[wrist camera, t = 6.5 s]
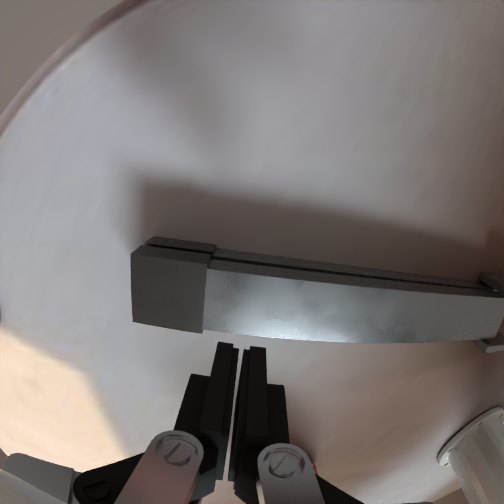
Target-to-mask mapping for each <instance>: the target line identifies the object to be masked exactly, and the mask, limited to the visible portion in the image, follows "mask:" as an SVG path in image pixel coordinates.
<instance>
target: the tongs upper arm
mask: <svg viewBox="0 0 504 504" xmlns="http://www.w3.org/2000/svg"><path fill="white" fill-rule="evenodd" d="M131 296H132V315H133V322H137V323H142V324H147V325H152V326H158V327H164V328H169V329H175V330H181V331H188V332H194V333H201V334H202V332H203V329H204V330H211V331H218V332H226V333H234V334H243V335H252V336H261V337H272V338H283V339H296V340H311V341H329V342H355V343H424V342H448V341H464V340H477V339H488V338H495V336H496V334H497V332H498V329H499V327H500V325H501V322H502V320H503V318H504V295H503V294H502V293H500V292H499V291H490V290H479V289H468V288H458V287H448V286H438V285H428V284H419V283H409V282H400V281H391V280H381V279H372V278H363V277H354V276H345V275H337V274H328V273H319V272H311V271H302V270H294V269H286V268H277V267H269V266H261V265H253V264H245V263H237V262H229V261H221V260H213V259H211V254H204V253H196V252H188V251H181V250H173V249H165V248H158V247H150V246H143V245H141V246H140V247H139V248H137V249H136V250H135V251H134V252H132V253H131Z"/></svg>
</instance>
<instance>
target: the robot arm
mask: <svg viewBox="0 0 504 504" xmlns="http://www.w3.org/2000/svg"><path fill="white" fill-rule="evenodd" d="M238 353H239V349H238V348H233V344H231V343H224V342H218V345H217V349H216V353H215V358H214V362H213V366H212V371H211V375H210V377H209V376H203V375H197V374H191V376H190V378H189V382H188V385H187V388H186V391H185V394H184V398H183V401H182V404H181V407H180V410H179V414H178V417H177V420H176V424H175V427H174V430H171V431H166V432H162V433H160V434H158V435H157V436H155V437H154V439H153V440H152V441H151V443H150V444H149V446H148V448H147V449H146V451H145V452H144V453H141V454H138V455H136V456H133V457H130V458H127V459H124V460H121V461H118V462H115V463H112V464H109V465H106V466H102V467H99V468H96V469H92V470H89V471H86V472H84V473H81V472H76V471H74V469H73V468H69V467H65V466H61V465H57V464H54V463H50V462H47V461H44V460H40V459H37V458H34V457H31V456H28V455H25V454H21V453H15V454H11V455H10V456H8V457H7V458H6V460H5V462H4V464H3V468H2V470H1V469H0V504H201V501H202V498H203V497H205V496H206V495H208V494H210V493H212V492H214V487H215V481H216V480H222V479H223V473H224V466H225V460H226V453H227V446H228V440H229V433H230V425H231V416H232V407H233V398H234V389H235V380H236V371H237V362H238ZM503 421H504V410H503V408H502V407H496V408H493V409H490V410H489V411H487V412H485V413H483V414H482V415H480V416H479V417H477V418H476V419H475V420H473V421H472V422H471V423H469V424H468V425H467V426H466V427H464V428H463V429H462V430H461V431H460V432H459V433H457V434H456V435H455V436H454V437H453V438H452V439H451V440H450V441H449V442H448V443H447V444H446V445H445V447H444V448H443V449H442V450H441V452H440V453H439V455H438V458H437V462H438V464H439V466H440V467H449V466H451V467H452V469H453V471H454V473H455V475H456V477H457V479H458V481H459V483H460V485H461V487H462V489H463V491H464V493H465V495H466V497H467V500H468V502H469V504H504V425H503ZM228 481H233V482H234V488H233V489H235V495H236V496H238V497H239V498H240V499H241V500H242V501H243V502H244V504H364V503H362V502H361V501H359V500H357V499H355V498H354V497H352V496H350V495H348V494H347V493H345V492H343V491H342V490H340V489H338V488H337V487H335V486H333V485H332V484H330V483H329V482H327V481H326V480H324V479H322V478H321V477H319V476H318V475H316V474H315V473H314V470H313V467H312V464H311V461H310V459H309V457H308V455H307V454H306V453H305V452H304V451H303V450H302V449H300V448H299V447H297V446H295V445H291V444H290V443H289V431H288V420H287V410H286V399H285V389H284V386H283V385H275V384H267V368H266V348H263V347H254V346H250V350H246V349H244V352H243V358H242V365H241V371H240V378H239V384H238V391H237V397H236V404H235V413H234V423H233V433H232V443H231V453H230V462H229V472H228ZM403 504H434V503H432V502H418V503H403Z"/></svg>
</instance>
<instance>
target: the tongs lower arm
mask: <svg viewBox="0 0 504 504" xmlns="http://www.w3.org/2000/svg"><path fill="white" fill-rule="evenodd" d="M145 246H150V247H158V248H165V249H173V250H181V251H188V252H196V253H204V254H211V259H213V260H221V261H229V262H237V263H245V264H253V265H261V266H269V267H277V268H286V269H294V270H302V271H311V272H319V273H328V274H337V275H345V276H354V277H363V278H372V279H381V280H391V281H400V282H409V283H419V284H428V285H438V286H448V287H458V288H468V289H479V290H490V291H499V292H500V293H502V294H503V295H504V276H501V275H495V274H489V273H483V272H481V275H480V278H479V279H480V280H482V281H483V282H485V283H479V282H471V281H463V280H455V279H447V278H440V277H432V276H424V275H416V274H408V273H400V272H393V271H385V270H377V269H369V268H361V267H354V266H346V265H338V264H330V263H322V262H315V261H307V260H299V259H291V258H284V257H276V256H268V255H261V254H253V253H245V252H237V251H230V250H222V249H216V245H215V244H207V243H199V242H191V241H184V240H176V239H168V238H160V237H152V238H151V239H149V240H148V241H147V242H145ZM472 341H473V342H474V343H475V344H476V345H477V346H478V347H479V348H480V349H481V350H482V351H483V352H484V353H492V352H497V351H503V350H504V336H503V335H502V334H501V333H500V332H497V334H496V336H495V338H488V339H477V340H472Z"/></svg>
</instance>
